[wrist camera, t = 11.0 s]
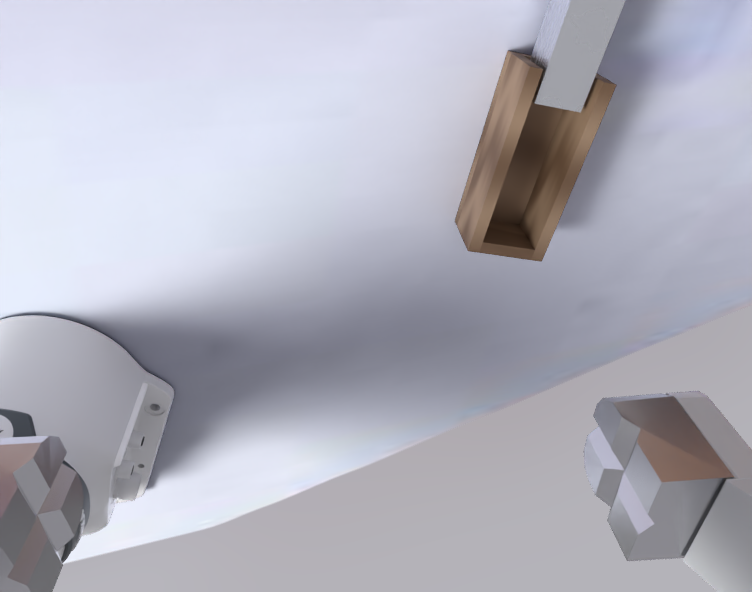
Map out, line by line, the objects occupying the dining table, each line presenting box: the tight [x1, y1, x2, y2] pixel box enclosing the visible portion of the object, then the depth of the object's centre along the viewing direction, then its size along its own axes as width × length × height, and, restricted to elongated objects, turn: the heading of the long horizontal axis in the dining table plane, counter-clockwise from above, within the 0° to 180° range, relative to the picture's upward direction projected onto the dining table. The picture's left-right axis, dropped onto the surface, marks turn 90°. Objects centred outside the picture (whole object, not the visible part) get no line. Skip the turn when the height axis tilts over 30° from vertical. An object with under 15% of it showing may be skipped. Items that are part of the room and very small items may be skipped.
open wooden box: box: [455, 51, 616, 261], centre depth 37 cm, size 12×5×4 cm, turn 168°
